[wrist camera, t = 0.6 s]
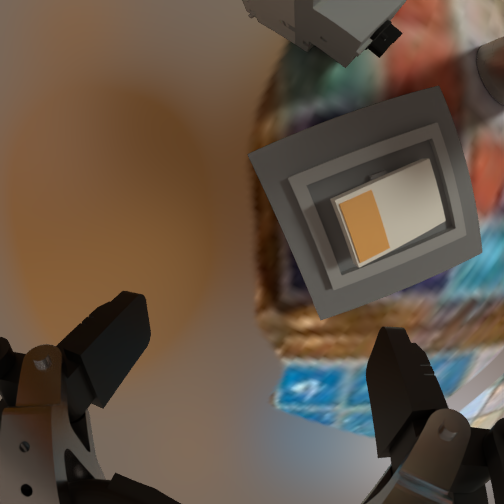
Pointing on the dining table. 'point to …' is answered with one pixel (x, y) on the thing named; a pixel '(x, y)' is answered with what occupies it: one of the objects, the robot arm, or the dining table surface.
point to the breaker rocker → (389, 211)
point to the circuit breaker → (331, 24)
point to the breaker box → (360, 172)
